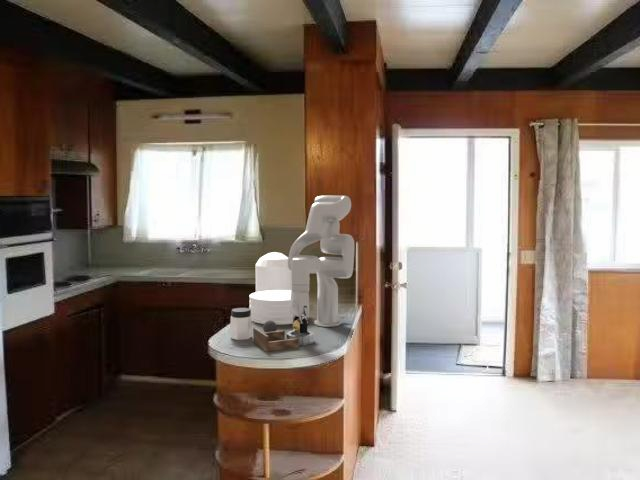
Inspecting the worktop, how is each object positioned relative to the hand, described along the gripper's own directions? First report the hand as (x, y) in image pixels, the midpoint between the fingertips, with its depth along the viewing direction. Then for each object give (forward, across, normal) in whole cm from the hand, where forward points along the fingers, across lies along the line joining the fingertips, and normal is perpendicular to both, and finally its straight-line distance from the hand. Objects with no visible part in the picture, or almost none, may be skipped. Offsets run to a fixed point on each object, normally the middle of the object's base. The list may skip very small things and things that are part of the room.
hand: (300, 330), depth 230 cm
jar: (+5, -17, -20) cm, 26 cm away
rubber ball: (+2, -17, -7) cm, 18 cm away
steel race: (+5, 0, 0) cm, 5 cm away
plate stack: (+5, -45, +8) cm, 46 cm away
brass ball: (-2, 0, 0) cm, 2 cm away
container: (+4, -83, +21) cm, 85 cm away
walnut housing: (+5, 0, -11) cm, 12 cm away
